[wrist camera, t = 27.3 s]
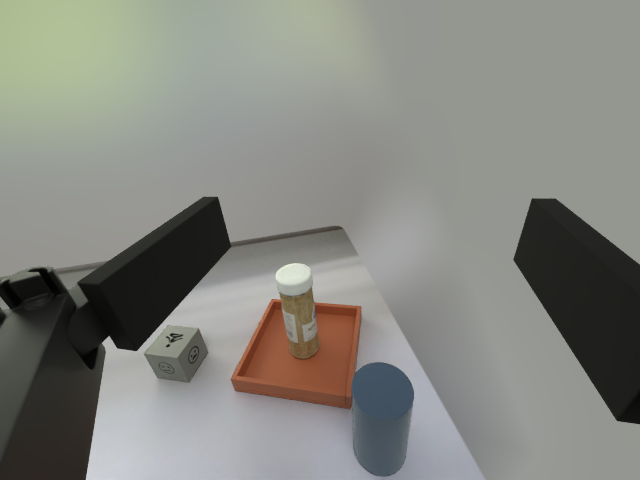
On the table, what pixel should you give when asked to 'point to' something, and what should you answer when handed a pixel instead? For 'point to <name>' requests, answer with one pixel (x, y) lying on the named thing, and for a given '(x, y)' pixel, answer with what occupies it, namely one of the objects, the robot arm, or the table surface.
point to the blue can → (381, 417)
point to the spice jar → (298, 309)
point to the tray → (303, 374)
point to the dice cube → (177, 353)
